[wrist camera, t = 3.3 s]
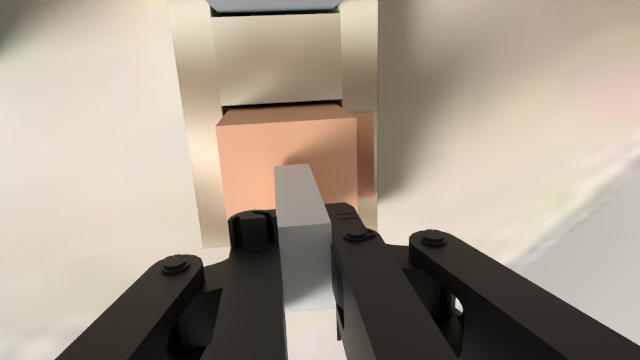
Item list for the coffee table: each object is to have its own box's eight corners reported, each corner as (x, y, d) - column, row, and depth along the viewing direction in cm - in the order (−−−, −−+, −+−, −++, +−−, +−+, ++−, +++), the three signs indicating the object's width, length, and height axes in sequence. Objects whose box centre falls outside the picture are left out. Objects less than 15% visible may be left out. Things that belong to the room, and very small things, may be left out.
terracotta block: (229, 108, 22) (215, 126, 16) (334, 102, 22) (356, 117, 17) (240, 208, 24) (231, 255, 18) (337, 199, 24) (358, 242, 19)
